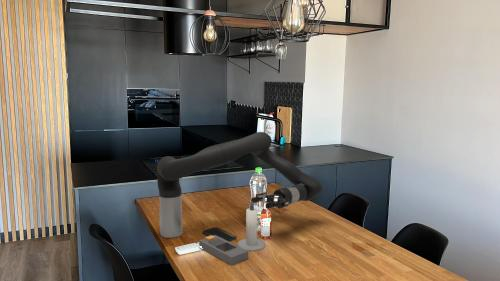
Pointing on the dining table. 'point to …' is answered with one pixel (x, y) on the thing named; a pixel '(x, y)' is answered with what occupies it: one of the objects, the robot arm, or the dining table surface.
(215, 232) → the phone
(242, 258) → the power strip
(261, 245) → the pad
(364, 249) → the dining table surface
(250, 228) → the white and grey cylinder
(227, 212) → the dining table surface
